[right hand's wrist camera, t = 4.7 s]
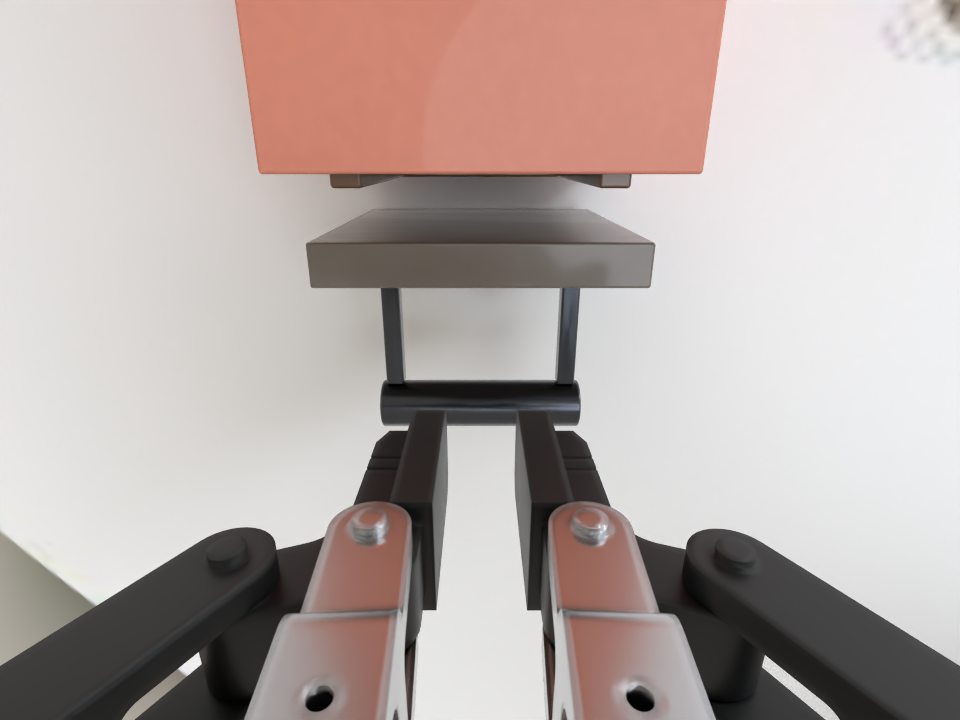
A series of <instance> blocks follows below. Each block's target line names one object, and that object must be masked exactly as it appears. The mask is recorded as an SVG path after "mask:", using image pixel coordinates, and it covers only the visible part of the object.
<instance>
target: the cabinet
mask: <svg viewBox="0 0 960 720" xmlns="http://www.w3.org/2000/svg"><path fill="white" fill-rule="evenodd" d="M726 1H727V0H235V4H236V11H237V18H238V25H239V32H240V39H241V47H242V54H243V61H244V68H245V75H246V82H247V90H248V97H249V104H250V111H251V118H252V126H253V133H254V140H255V147H256V154H257V161H258V169H259V172H260V173H261V174H700V173H702V171H703V165H704V157H705V150H706V143H707V136H708V129H709V122H710V115H711V108H712V100H713V93H714V86H715V79H716V72H717V65H718V58H719V50H720V43H721V36H722V29H723V22H724V15H725V8H726Z"/></svg>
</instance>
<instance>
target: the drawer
mask: <svg viewBox="0 0 960 720" xmlns="http://www.w3.org/2000/svg"><path fill="white" fill-rule="evenodd" d="M631 176H632V174H330V182H331V186H332V187H333V188H362V187H365V186H369V185H373V184H377V183H380V182H384V181H388V180H392V179H395V178H399V177H562V178H565V179H569V180H573V181H577V182H580V183H584V184H588V185H592V186H595V187H599V188H629V187H630V185H631ZM306 250H307V258H308V267H309V276H310V284H311V287H312V288H381V298H382V313H383V327H384V342H385V357H386V372H387V380H385V381H384V382H383V385H382V389H381V398H380V410H381V419H382V423H383V425H385V426H409V425H410V421H411V417H412V413H413V410H446V418H447V426H516V413H517V410H549V411H550V414H551V418H552V421H553V425H554V426H576V425H578V423H579V419H580V409H581V400H580V389H579V385H578V382H577V381H576V380H574V371H575V356H576V342H577V327H578V312H579V298H580V288H649V287H650V286H651V278H652V269H653V261H654V252H655V243H653V242H651V241H649V240H647V239H645V238H643V237H641V236H639V235H637V234H635V233H633V232H631V231H629V230H627V229H625V228H623V227H621V226H619V225H617V224H615V223H613V222H611V221H609V220H607V219H605V218H603V217H601V216H599V215H597V214H595V213H593V212H591V211H589V210H587V209H374V210H372V211H370V212H368V213H366V214H364V215H362V216H360V217H358V218H356V219H354V220H352V221H350V222H348V223H346V224H344V225H342V226H340V227H338V228H336V229H334V230H332V231H330V232H328V233H326V234H324V235H322V236H320V237H318V238H316V239H314V240H312V241H310V242H308V243H306ZM401 288H560V296H559V315H558V333H557V352H556V370H555V379H556V380H405V378H406V372H405V353H404V334H403V316H402V297H401Z"/></svg>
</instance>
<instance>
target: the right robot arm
mask: <svg viewBox="0 0 960 720" xmlns="http://www.w3.org/2000/svg"><path fill="white" fill-rule="evenodd" d="M447 491H448V457H447V418H446V410H413V413H412V417H411V421H410V425H409V429H408V431H389V432H388V433H387V434H386V435H384V436H383V437H382V438H381V439H380V440H379V441H377V442H376V445H375V447H374V450H373V453H372V456H371V459H370V461H369V464H368V467H367V470H366V472H365V475H364V478H363V480H362V483H361V486H360V489H359V491H358V494H357V497H356V500H355V502H354V505H353V506H351V507H349V508H347V509H345V510H343V511H342V512H340V513H339V514H338V515H336V516H335V517H334V518H333V520H332V521H331V522H330V524H329V526H328V528H327V531H326V535H325V537H323V538H321V539H318V540H316V541H313V542H309V543H306V544H301V545H297V546H292V547H288V548H283V549H279V550H276V545H275V541H274V539H273V537H272V536H271V535H270V534H269V533H267V532H266V531H263V530H261V529H257V528H248V527H246V528H235V529H229V530H225V531H222V532H219V533H216V534H214V535H211V536H209V537H207V538H205V539H204V540H202V541H200V542H198V543H197V544H195V545H194V546H192V547H190V548H189V549H187V550H186V551H184V552H182V553H181V554H179V555H178V556H176V557H174V558H173V559H171V560H170V561H168V562H166V563H165V564H163V565H162V566H160V567H158V568H157V569H155V570H153V571H152V572H150V573H149V574H147V575H145V576H144V577H142V578H141V579H139V580H137V581H136V582H134V583H133V584H131V585H129V586H128V587H126V588H125V589H123V590H121V591H120V592H118V593H117V594H115V595H113V596H112V597H110V598H109V599H107V600H105V601H104V602H102V603H101V604H99V605H97V606H96V607H94V608H93V609H91V610H89V611H88V612H86V613H85V614H83V615H81V616H80V617H78V618H77V619H75V620H73V621H72V622H70V623H69V624H67V625H65V626H64V627H62V628H60V629H59V630H57V631H56V632H54V633H52V634H51V635H49V636H48V637H46V638H44V639H43V640H41V641H40V642H38V643H36V644H35V645H33V646H32V647H30V648H28V649H27V650H25V651H24V652H22V653H20V654H19V655H17V656H16V657H14V658H12V659H11V660H9V661H8V662H6V663H4V664H3V665H1V666H0V720H122V718H123V717H124V715H125V714H126V713H127V711H128V710H129V709H130V708H131V707H132V706H133V705H134V704H135V703H136V702H137V701H138V700H139V699H140V698H142V697H143V696H144V695H145V694H147V693H148V692H149V691H150V690H152V689H153V688H154V687H155V686H157V685H158V684H159V683H160V682H162V681H163V680H164V679H165V678H166V677H168V676H169V675H170V674H172V673H173V672H174V671H175V670H177V669H178V668H179V667H180V666H182V665H183V664H184V663H185V662H187V661H188V660H189V659H190V658H192V657H193V656H194V655H195V654H197V653H198V652H199V654H200V658H201V662H202V665H200V666H199V667H198V668H197V669H196V670H194V671H193V672H192V673H191V674H190V675H188V676H187V677H186V678H185V679H183V680H182V681H181V682H180V683H179V684H177V685H176V686H175V687H174V688H173V689H171V690H170V691H169V692H168V693H166V694H165V695H164V696H163V697H162V698H160V699H159V700H158V701H157V702H156V703H154V704H153V705H152V706H151V707H150V708H148V709H147V710H146V711H145V712H143V713H142V714H141V715H140V716H139V717H137V718H136V719H135V720H414V711H415V695H416V678H417V661H418V633H419V631H420V627H421V619H422V611H423V610H436V608H437V597H438V587H439V577H440V566H441V556H442V545H443V535H444V525H445V514H446V504H447ZM515 497H516V507H517V517H518V526H519V536H520V546H521V555H522V565H523V574H524V584H525V594H526V603H527V610H541V614H542V621H543V632H542V661H543V678H544V695H545V711H546V720H825V719H824V718H823V717H821V716H820V715H819V714H818V713H817V712H815V711H814V710H813V709H812V708H810V707H809V706H808V705H807V704H806V703H804V702H803V701H802V700H801V699H800V698H798V697H797V696H796V695H795V694H794V693H792V692H791V691H790V690H789V689H787V688H786V687H785V686H784V685H783V684H781V683H780V682H779V681H778V680H777V679H775V678H774V677H773V676H772V675H771V674H769V673H768V672H767V671H766V670H764V669H763V668H762V664H763V660H764V656H765V655H766V656H767V657H768V658H770V659H771V660H772V661H773V662H775V663H776V664H777V665H778V666H780V667H781V668H782V669H783V670H785V671H786V672H787V673H788V674H790V675H791V676H792V677H793V678H795V679H796V680H797V681H798V682H800V683H801V684H802V685H803V686H805V687H806V688H807V689H808V690H810V691H811V692H812V693H813V694H815V695H816V696H817V697H818V698H820V699H821V700H822V701H823V702H825V703H826V704H827V705H828V706H829V707H830V708H831V709H832V710H833V711H834V712H835V714H836V715H837V716H838V718H839V719H840V720H960V666H959V665H957V664H956V663H954V662H952V661H951V660H949V659H948V658H946V657H944V656H943V655H941V654H940V653H938V652H936V651H935V650H933V649H932V648H930V647H928V646H927V645H925V644H924V643H922V642H920V641H919V640H917V639H916V638H914V637H912V636H911V635H909V634H908V633H906V632H904V631H903V630H901V629H900V628H898V627H896V626H895V625H893V624H891V623H890V622H888V621H887V620H885V619H883V618H882V617H880V616H879V615H877V614H875V613H874V612H872V611H871V610H869V609H867V608H866V607H864V606H863V605H861V604H859V603H858V602H856V601H855V600H853V599H851V598H850V597H848V596H847V595H845V594H843V593H842V592H840V591H839V590H837V589H835V588H834V587H832V586H831V585H829V584H827V583H826V582H824V581H823V580H821V579H819V578H818V577H816V576H815V575H813V574H811V573H810V572H808V571H807V570H805V569H803V568H802V567H800V566H798V565H797V564H795V563H794V562H792V561H790V560H789V559H787V558H786V557H784V556H782V555H781V554H779V553H778V552H776V551H774V550H773V549H771V548H770V547H768V546H766V545H765V544H763V543H762V542H760V541H758V540H756V539H754V538H752V537H750V536H748V535H745V534H742V533H739V532H735V531H731V530H725V529H707V530H702V531H699V532H697V533H695V534H694V535H692V536H691V537H690V538H689V540H688V542H687V546H686V550H685V549H680V548H676V547H671V546H667V545H662V544H658V543H654V542H651V541H648V540H645V539H643V538H640V537H638V536H636V535H634V531H633V528H632V526H631V524H630V522H629V521H628V520H627V518H626V517H625V516H624V515H622V514H621V513H620V512H618V511H617V510H615V509H613V508H611V506H610V504H609V501H608V498H607V496H606V493H605V490H604V488H603V485H602V482H601V480H600V477H599V474H598V472H597V470H596V466H595V464H594V461H593V459H592V455H591V453H590V450H589V447H588V445H587V442H585V441H584V440H583V439H582V438H581V437H580V436H578V435H577V434H576V433H575V432H574V431H555V429H554V425H553V421H552V418H551V414H550V411H549V410H517V413H516V442H515Z"/></svg>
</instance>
